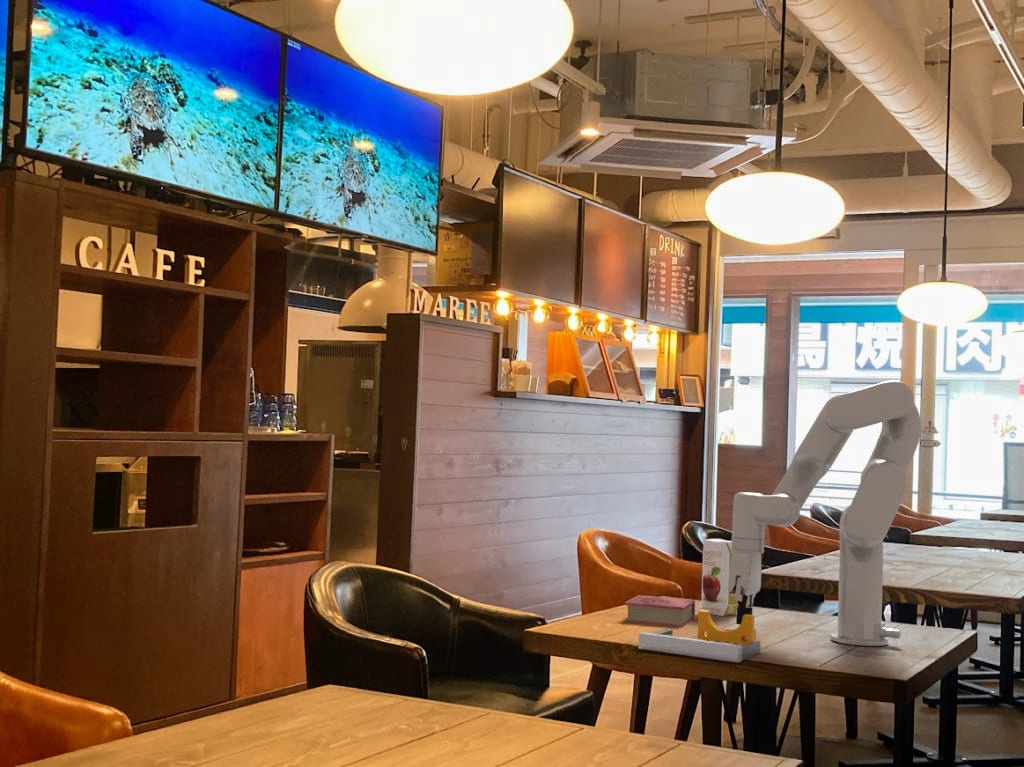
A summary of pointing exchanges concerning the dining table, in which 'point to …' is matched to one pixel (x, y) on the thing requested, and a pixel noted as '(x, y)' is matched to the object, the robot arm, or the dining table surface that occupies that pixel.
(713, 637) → the pipe clamp
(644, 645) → the bracket
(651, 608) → the book
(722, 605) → the juice carton
